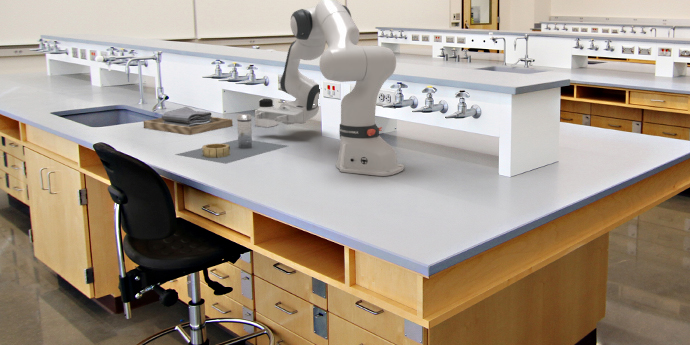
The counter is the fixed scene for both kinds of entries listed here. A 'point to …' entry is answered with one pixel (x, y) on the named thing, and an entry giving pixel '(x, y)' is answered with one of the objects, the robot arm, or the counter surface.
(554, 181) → the counter surface
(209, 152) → the brass ring collar
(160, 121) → the towel frame
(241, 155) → the bench mat
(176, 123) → the towel
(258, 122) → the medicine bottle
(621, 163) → the counter surface
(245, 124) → the clear lidded jar
